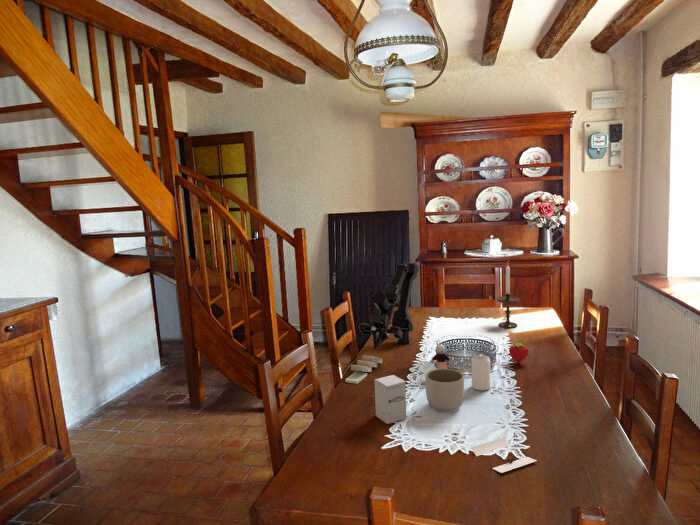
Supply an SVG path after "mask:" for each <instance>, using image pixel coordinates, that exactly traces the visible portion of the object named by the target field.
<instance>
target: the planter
mask: <svg viewBox="0 0 700 525" xmlns="http://www.w3.org/2000/svg"><path fill="white" fill-rule="evenodd" d="M424 375H425V377H424V378H425V393H426V394H425V396H426V401H427V402H428V404H429V406H430V407H431V408H432V409H434V411H435V410H436V411H438V412H442V413H448V412H455V411H457V410H458V409H459V408H460V407H462V405H463V402H464V398H465V377H464V374H463V373H462V372H461V371H460V370H456V369H452V368H447V369H437V368H434V369H431V370H429V371H427V372H425V374H424Z"/></svg>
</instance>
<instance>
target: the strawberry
mask: <svg viewBox="0 0 700 525" xmlns="http://www.w3.org/2000/svg"><path fill="white" fill-rule="evenodd" d="M508 351H509V355H510V356H511V358H512V359H513V361H515V363H517V364H521V363H522V362H523V361H524V360H525V359H526V358H527V357H528V356H529V355H528V354H529V352H530V351H529V348H528V347H527V346H526V344H524V343H522V342H521V343H519V342H516V343H511V346H510V347H509V349H508Z"/></svg>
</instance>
